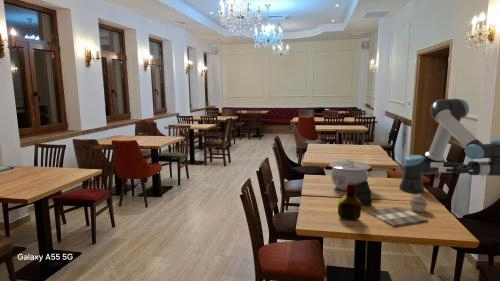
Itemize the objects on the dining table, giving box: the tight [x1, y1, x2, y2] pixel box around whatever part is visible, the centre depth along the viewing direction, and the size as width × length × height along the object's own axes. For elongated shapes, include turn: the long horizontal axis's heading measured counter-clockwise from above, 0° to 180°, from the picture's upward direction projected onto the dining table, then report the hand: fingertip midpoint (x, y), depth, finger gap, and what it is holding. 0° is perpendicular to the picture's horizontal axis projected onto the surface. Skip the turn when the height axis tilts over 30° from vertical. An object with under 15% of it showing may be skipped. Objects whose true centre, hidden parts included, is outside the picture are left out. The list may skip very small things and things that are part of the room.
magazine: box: [355, 180, 373, 207], centre depth 196 cm, size 4×13×15 cm, turn 67°
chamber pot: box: [329, 159, 372, 192], centre depth 226 cm, size 28×28×21 cm
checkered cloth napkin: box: [367, 206, 429, 228], centre depth 177 cm, size 22×20×1 cm
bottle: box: [337, 183, 363, 221], centre depth 174 cm, size 12×6×20 cm, turn 67°
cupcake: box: [409, 193, 428, 213], centre depth 186 cm, size 9×9×10 cm
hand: (434, 167), depth 182 cm, fingers open, 13 cm apart
